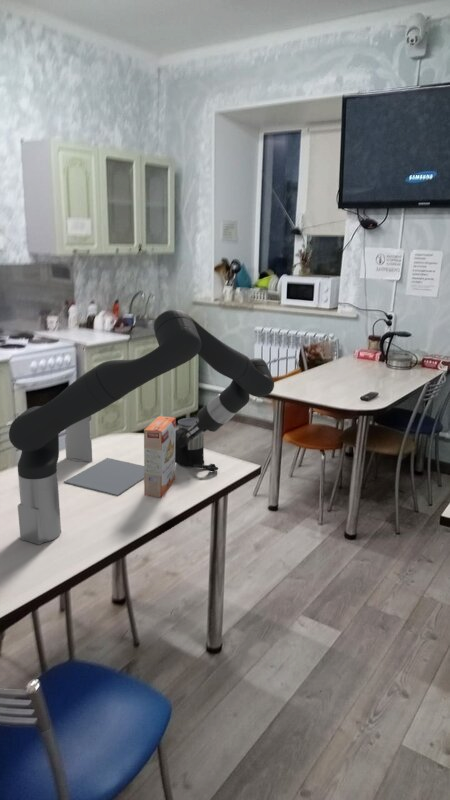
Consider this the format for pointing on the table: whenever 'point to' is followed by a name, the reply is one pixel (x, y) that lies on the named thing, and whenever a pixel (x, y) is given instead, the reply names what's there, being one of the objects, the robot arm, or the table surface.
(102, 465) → the mat
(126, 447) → the table surface
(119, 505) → the table surface
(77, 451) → the tall pale column
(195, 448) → the milk frother
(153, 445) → the cracker box
